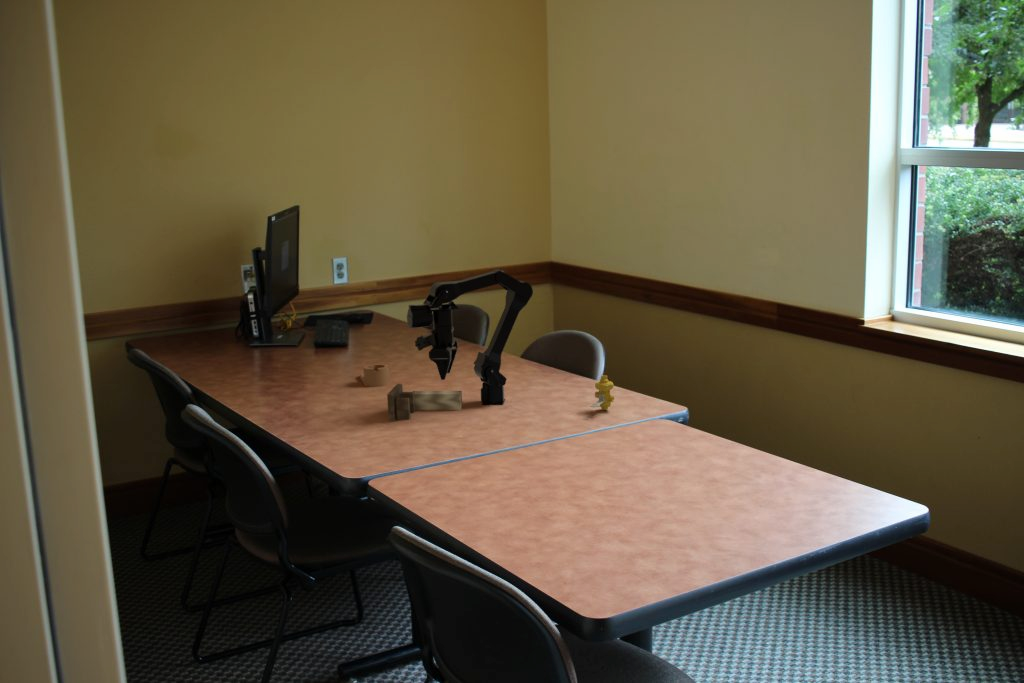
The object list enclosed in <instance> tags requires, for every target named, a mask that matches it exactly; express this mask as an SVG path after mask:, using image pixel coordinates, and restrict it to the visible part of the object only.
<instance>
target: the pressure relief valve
mask: <svg viewBox="0 0 1024 683" xmlns="http://www.w3.org/2000/svg"><path fill="white" fill-rule="evenodd" d="M594 387H595V389H596V390H598V391H595V392H594V397H595V399H598V400H597V401H596V402H594V403H591V404H590V405H589V407H591V408H599V407H600V408H601V410H604V411H607V410H608V409H609V407H611V405H612V403H614V400H615V396H614V395H611V390H613V389H614V383H613V381H611V380H609V379H608V375H605V374H604V375H603V374H602V375H601V376H600V380H599V381H596V382H595V383H594Z"/></svg>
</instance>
